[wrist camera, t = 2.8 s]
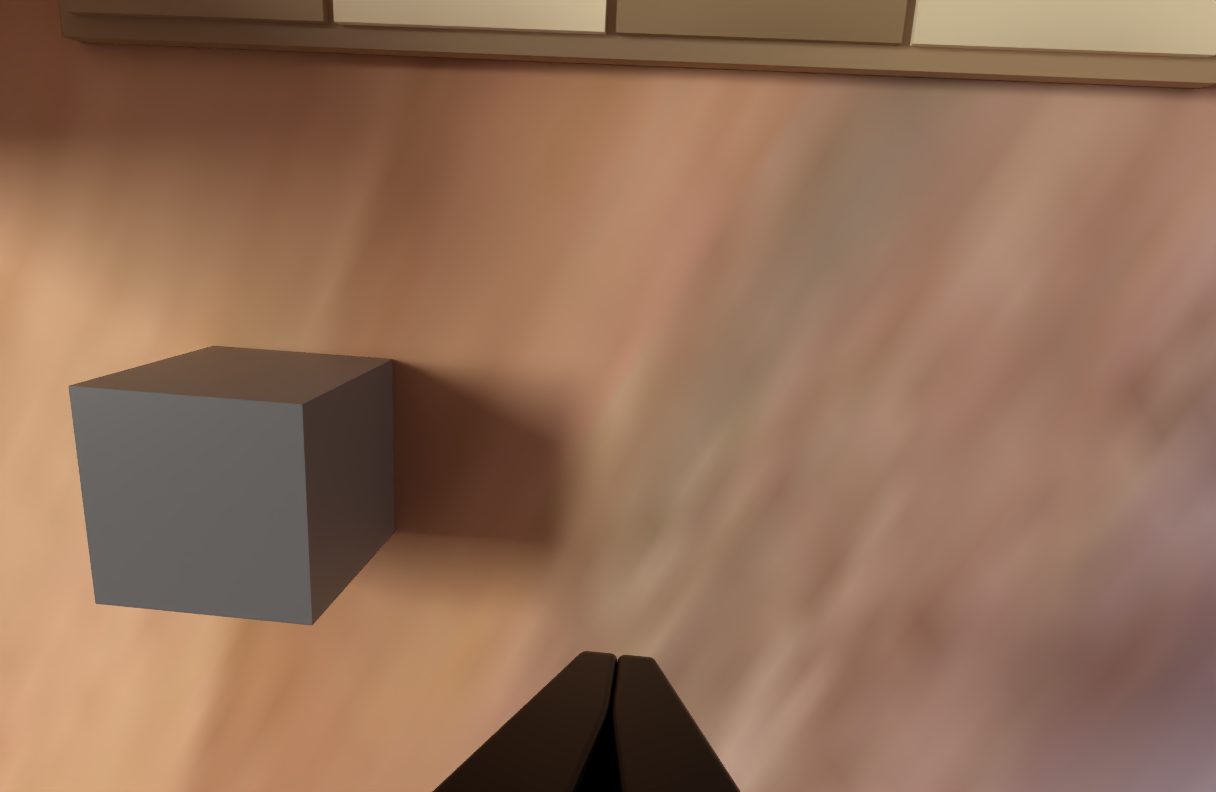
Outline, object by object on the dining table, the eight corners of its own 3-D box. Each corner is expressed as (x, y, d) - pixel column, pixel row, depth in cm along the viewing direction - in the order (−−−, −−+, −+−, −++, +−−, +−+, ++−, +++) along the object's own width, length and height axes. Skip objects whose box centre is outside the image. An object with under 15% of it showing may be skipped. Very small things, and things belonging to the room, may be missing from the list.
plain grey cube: (396, 530, 17) (312, 625, 13) (227, 515, 17) (95, 603, 13) (393, 358, 16) (302, 404, 12) (215, 345, 16) (68, 386, 12)
